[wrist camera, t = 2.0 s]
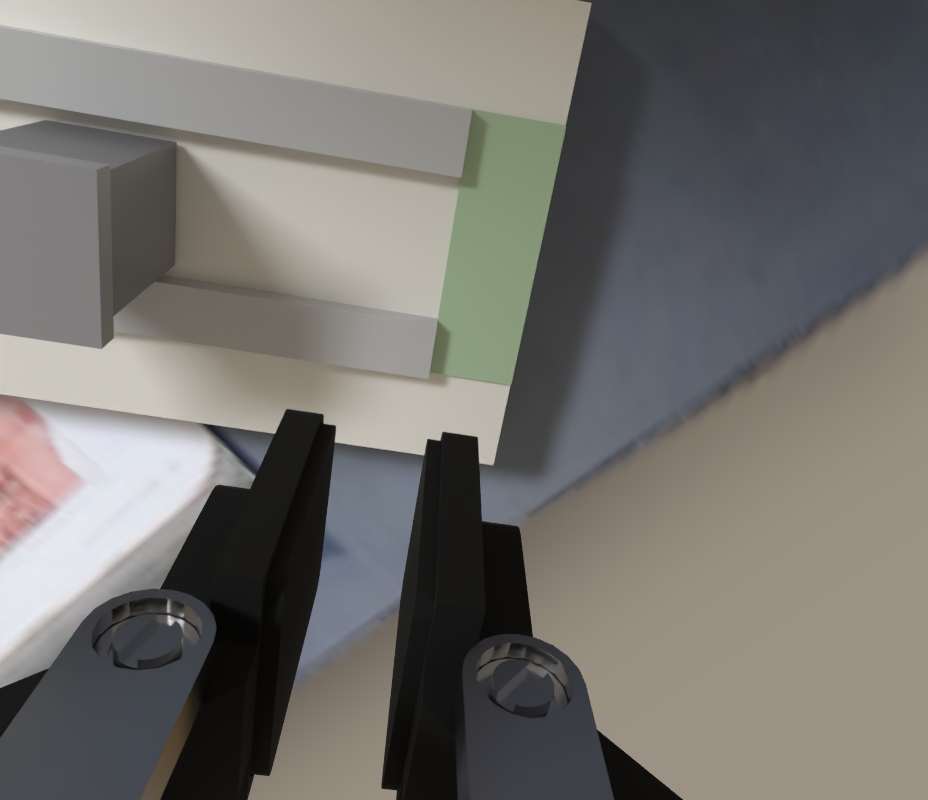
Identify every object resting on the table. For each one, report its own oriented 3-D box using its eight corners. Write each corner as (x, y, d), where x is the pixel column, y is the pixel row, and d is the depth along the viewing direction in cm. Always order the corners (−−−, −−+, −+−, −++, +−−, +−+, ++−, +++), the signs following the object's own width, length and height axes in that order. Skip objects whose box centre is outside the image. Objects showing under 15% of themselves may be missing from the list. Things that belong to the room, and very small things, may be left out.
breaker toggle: (35, 108, 24) (-107, 135, 18) (186, 134, 25) (96, 169, 19) (44, 252, 26) (-82, 321, 20) (183, 274, 27) (101, 349, 21)
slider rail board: (-321, -167, 24) (-450, -198, 21) (577, 5, 26) (595, 2, 23) (-218, 324, 31) (-302, 362, 27) (490, 429, 33) (494, 476, 30)
